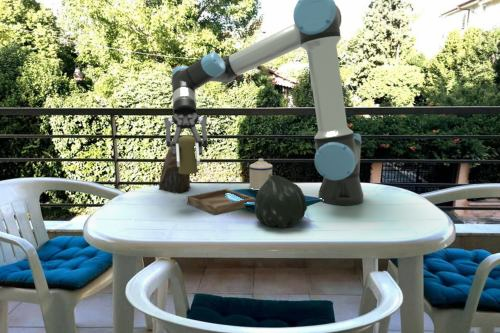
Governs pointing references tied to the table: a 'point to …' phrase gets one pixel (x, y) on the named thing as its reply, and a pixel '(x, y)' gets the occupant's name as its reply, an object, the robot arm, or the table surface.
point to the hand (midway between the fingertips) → (188, 163)
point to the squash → (280, 203)
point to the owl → (173, 175)
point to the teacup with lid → (259, 173)
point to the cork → (187, 155)
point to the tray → (218, 201)
